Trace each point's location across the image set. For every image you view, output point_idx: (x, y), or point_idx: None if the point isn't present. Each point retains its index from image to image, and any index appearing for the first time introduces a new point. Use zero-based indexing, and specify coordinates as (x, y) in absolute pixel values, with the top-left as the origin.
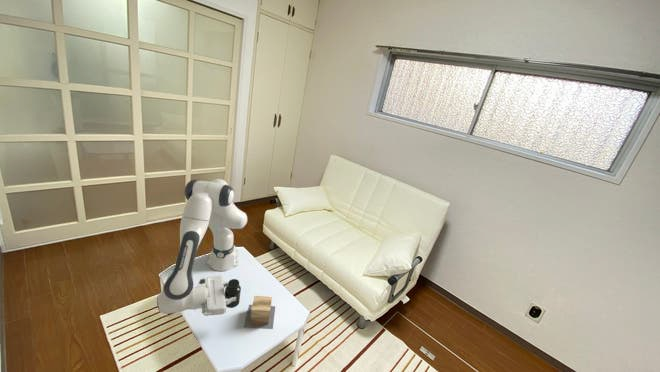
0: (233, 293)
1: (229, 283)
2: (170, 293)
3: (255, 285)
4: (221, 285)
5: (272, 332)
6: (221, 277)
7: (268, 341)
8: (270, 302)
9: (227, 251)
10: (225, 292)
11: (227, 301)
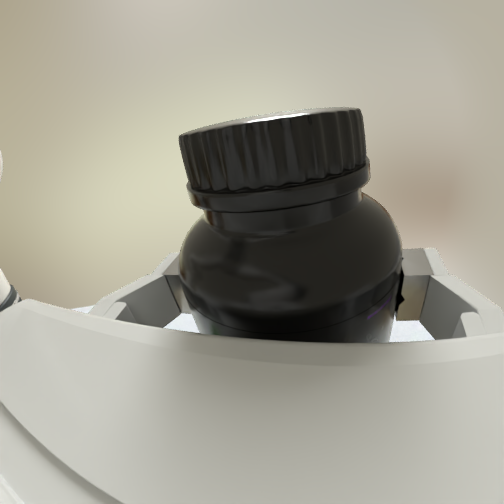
0: (395, 228)
1: (253, 121)
2: None
3: (168, 326)
4: (112, 339)
5: (400, 325)
6: (29, 304)
7: (432, 339)
8: None
9: (7, 306)
10: (304, 337)
11: (500, 324)
